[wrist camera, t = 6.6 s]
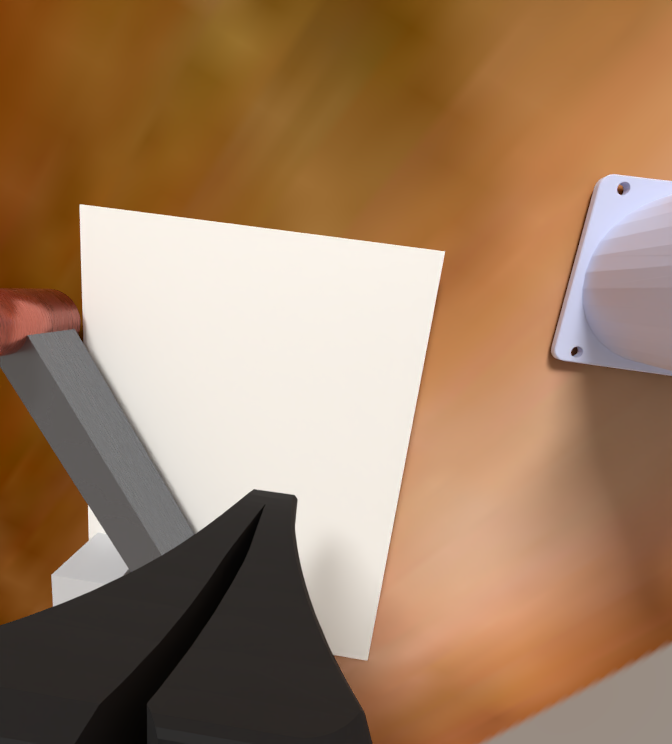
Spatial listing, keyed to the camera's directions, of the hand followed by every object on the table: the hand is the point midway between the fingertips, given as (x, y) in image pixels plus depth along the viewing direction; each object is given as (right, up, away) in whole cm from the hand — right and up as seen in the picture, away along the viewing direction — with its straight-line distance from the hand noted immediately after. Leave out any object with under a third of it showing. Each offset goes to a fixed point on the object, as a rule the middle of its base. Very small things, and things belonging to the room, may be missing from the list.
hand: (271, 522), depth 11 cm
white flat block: (-3, 0, +9) cm, 9 cm away
